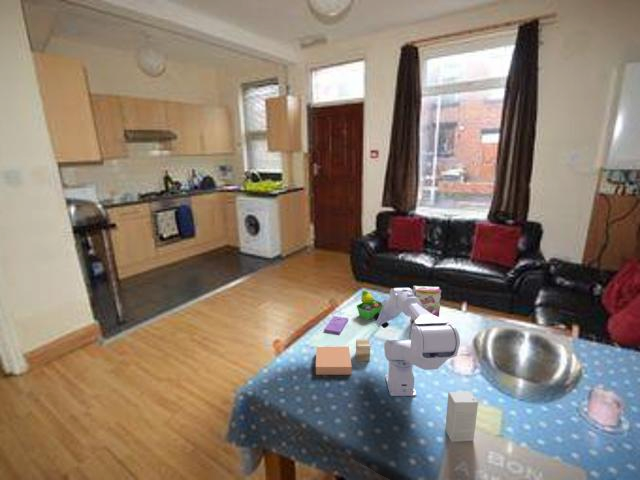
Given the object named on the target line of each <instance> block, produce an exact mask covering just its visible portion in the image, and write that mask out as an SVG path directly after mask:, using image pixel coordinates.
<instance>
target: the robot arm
mask: <svg viewBox="0 0 640 480" xmlns="http://www.w3.org/2000/svg"><path fill="white" fill-rule="evenodd" d="M381 304H382V305H383V307H382V310H381V312H380V314H379V313H378V312H377V313H376V314H375V315H374V317H373V320H375V322H374V324H375V325H376V326H377V327H378V328H380V327H382V328H383V329H387V328H388V326H390V324H389V321H391V320H394V319H396V318H398V317H399V316H400V314H401V313H403V314H404V315H405V316H407V317H409V318H411V317H412V318H413V320H414V323H413V324H411V325H412V326H411V330H410V339H396V340H395V339H394V340H393V339H392V340H389V339H386V340H385V342H384V346H383V347H384V349H383V350H384V355H385V358H386V360H387V361H388V374H385V375H384V378H385V380H386V385H387V387H388V391H389V395H390V396H392V397H394V396H395V397H405V396H406V397H408V396H410V397H412V396H417V392H416V389H415V375H414V373H413V366H415V367H418V368H420V369H422V370H424V371H429V370H438V369H439V368H441V367H442V365H443V364H445V363H446V362H447V360H450V359H452V358H454V357H457V356H458V353H459V348H460V346H461V345H460V344H461V339H460V334H459V333H460V332H459V331H458V329H457V327H455V326H454V325H453V324H449V321H448V320H447V319H445V318H444V317H440V316H439V317H437V316H435V315H433V314H431V313H430V312H428V311H427V310H425V309H424V308H423V307H422V303H421V301H420V300H419V299H418V298H416V297H415V296H414V292H413V288H410V287H393V288H392V287H391V288H390V291H389V298H388V299H387V300H386V299H383V301H381Z"/></svg>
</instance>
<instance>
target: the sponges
mask: <svg viewBox="0 0 640 480" xmlns="http://www.w3.org/2000/svg"><path fill="white" fill-rule="evenodd" d="M348 322H349V318H348V317H344V316H338V315H333V316H332V318H330V320H329V321H328V323H327V325H326V326H325V327H324V329H323V330H324V332H325V333H329V332H331V333H330V334H335V333H336V334H335V335H341V333H342V332H343V330H344V328H345V326H346V325H347V324H348Z"/></svg>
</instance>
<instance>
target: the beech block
mask: <svg viewBox="0 0 640 480" xmlns="http://www.w3.org/2000/svg"><path fill="white" fill-rule="evenodd" d="M355 342H356V343H355V355H356V360H357V362H361V361H362V362H367V361H368V362H369V361H371V343H370V339H369V338H363V339H362V338H356V341H355Z"/></svg>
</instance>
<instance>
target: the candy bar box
mask: <svg viewBox="0 0 640 480" xmlns="http://www.w3.org/2000/svg"><path fill="white" fill-rule="evenodd" d="M412 290H413V292H414V296H415V297H416V298H418V299H419V300H420V301H421V303H422V307H423V308H424V309H425V310H427V311H428V312H430V313H431V314H433V315H435V316H437V317H440V311H441V301H442V289H441V288H440V286H426V285H425V286H424V285H413V287H412ZM410 321H411V325H413V323H414V320H413V318H412V317H410Z"/></svg>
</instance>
